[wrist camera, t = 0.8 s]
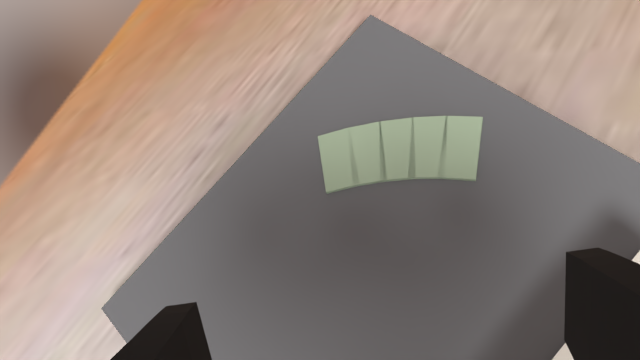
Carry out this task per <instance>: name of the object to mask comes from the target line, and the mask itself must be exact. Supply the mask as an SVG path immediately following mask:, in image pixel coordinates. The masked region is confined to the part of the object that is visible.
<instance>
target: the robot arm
mask: <svg viewBox="0 0 640 360" xmlns="http://www.w3.org/2000/svg"><path fill="white" fill-rule="evenodd" d="M564 340H565V342H566V344H567V347H568V349H569V351H570V353H571V355H572V357H573V359H574V360H640V264H638V263H636V262H634V261H631V260H629V259H627V258H624V257H622V256H620V255H617V254H615V253H612V252H610V251H607V250H604V249H601V248H591V249H584V250H576V251H569V252H566V275H565V324H564ZM111 360H212V358H211V354H210V350H209V347H208V343H207V339H206V336H205V332H204V328H203V324H202V321H201V317H200V313H199V310H198V306H197V302H193V303H185V304H178V305H170V306H166V307H165V308H163V309H162V310H161V311H160V312H159V313H158V314H157V315H156V316H154V317H153V318H152V319H151V320H150V321H149V322H148V323H147V324H146V325H145V326H144V327H143V328H142V329H141V330H140V331H139V332H138V333H137V334H136V335H135V336H134V337H133V338H132V339H131V340H130V341H129V342H128V343H127V344H126V345H125V346H124V347H123V348H122V349H121V350H120V351H119V352H118V353H117V354H116V355H115V356H114V357H113V358H112V359H111Z"/></svg>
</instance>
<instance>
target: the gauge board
mask: <svg viewBox="0 0 640 360" xmlns="http://www.w3.org/2000/svg"><path fill="white" fill-rule="evenodd" d="M591 248H601V249H604V250H607V251H610V252H612V253H615V254H617V255H620V256H622V257H624V258H627V259H629V260H631V261H632V259H633V258H634V257H635V256H636V255H637V253H638V252H639V251H640V163H638V162H636V161H634V160H633V159H631V158H629V157H627V156H625V155H624V154H622V153H620V152H618V151H616V150H615V149H613V148H611V147H609V146H607V145H605V144H604V143H602V142H600V141H598V140H596V139H595V138H593V137H591V136H589V135H587V134H586V133H584V132H582V131H580V130H578V129H576V128H575V127H573V126H571V125H569V124H567V123H566V122H564V121H562V120H560V119H558V118H557V117H555V116H553V115H551V114H549V113H548V112H546V111H544V110H542V109H540V108H538V107H537V106H535V105H533V104H531V103H529V102H528V101H526V100H524V99H522V98H520V97H519V96H517V95H515V94H513V93H511V92H510V91H508V90H506V89H504V88H502V87H500V86H499V85H497V84H495V83H493V82H491V81H490V80H488V79H486V78H484V77H482V76H481V75H479V74H477V73H475V72H473V71H471V70H470V69H468V68H466V67H464V66H462V65H461V64H459V63H457V62H455V61H453V60H452V59H450V58H448V57H446V56H444V55H443V54H441V53H439V52H437V51H435V50H433V49H432V48H430V47H428V46H426V45H424V44H423V43H421V42H419V41H417V40H415V39H414V38H412V37H410V36H408V35H406V34H404V33H403V32H401V31H399V30H397V29H395V28H394V27H392V26H390V25H388V24H386V23H385V22H383V21H381V20H379V19H377V18H376V17H374V16H372V15H370V16H369V17H368V18H367V19H366V20H365V21H364V22H363V24H362V25H361V26H360V27H359V28H358V29H357V30H356V31H355V32H354V33H353V34H352V36H351V37H350V38H349V39H348V40H347V41H346V42H345V43H344V44H343V45H342V46H341V48H340V49H339V50H338V51H337V52H336V53H335V54H334V55H333V56H332V57H331V58H330V60H329V61H328V62H327V63H326V64H325V65H324V66H323V67H322V68H321V69H320V70H319V72H318V73H317V74H316V75H315V76H314V77H313V78H312V79H311V80H310V81H309V82H308V84H307V85H306V86H305V87H304V88H303V89H302V90H301V91H300V92H299V93H298V94H297V96H296V97H295V98H294V99H293V100H292V101H291V102H290V103H289V104H288V105H287V106H286V108H285V109H284V110H283V111H282V112H281V113H280V114H279V115H278V116H277V117H276V118H275V120H274V121H273V122H272V123H271V124H270V125H269V126H268V127H267V128H266V129H265V130H264V132H263V133H262V134H261V135H260V136H259V137H258V138H257V139H256V140H255V141H254V142H253V144H252V145H251V146H250V147H249V148H248V149H247V150H246V151H245V152H244V153H243V154H242V155H241V157H240V158H239V159H238V160H237V161H236V162H235V163H234V164H233V165H232V166H231V167H230V169H229V170H228V171H227V172H226V173H225V174H224V175H223V176H222V177H221V178H220V179H219V181H218V182H217V183H216V184H215V185H214V186H213V187H212V188H211V189H210V190H209V191H208V193H207V194H206V195H205V196H204V197H203V198H202V199H201V200H200V201H199V202H198V203H197V205H196V206H195V207H194V208H193V209H192V210H191V211H190V212H189V213H188V214H187V215H186V217H185V218H184V219H183V220H182V221H181V222H180V223H179V224H178V225H177V226H176V227H175V229H174V230H173V231H172V232H171V233H170V234H169V235H168V236H167V237H166V238H165V239H164V241H163V242H162V243H161V244H160V245H159V246H158V247H157V248H156V249H155V250H154V251H153V253H152V254H151V255H150V256H149V257H148V258H147V259H146V260H145V261H144V262H143V263H142V265H141V266H140V267H139V268H138V269H137V270H136V271H135V272H134V273H133V274H132V275H131V277H130V278H129V279H128V280H127V281H126V282H125V283H124V284H123V285H122V286H121V287H120V289H119V290H118V291H117V292H116V293H115V294H114V295H113V296H112V297H111V298H110V299H109V301H108V302H107V303H106V304H105V305H104V306H103V307H102V308H101V309H102V310H103V311H104V313H105V314H106V315H107V317H108V318H109V319H110V321H111V322H112V324H113V325H114V326H115V328H116V329H117V330H118V332H119V333H120V334H121V336H122V337H123V338H124V340H125V341H126V343H128V342H129V341H130V340H131V339H132V338H133V337H134V336H135V335H136V334H137V333H138V332H139V331H140V330H141V329H142V328H143V327H144V326H145V325H146V324H147V323H148V322H149V321H150V320H151V319H152V318H153V317H154V316H156V315H157V314H158V313H159V312H160V311H161V310H162V309H163V308H165V307H166V306H170V305H178V304H185V303H193V302H197V306H198V310H199V313H200V317H201V321H202V324H203V328H204V332H205V336H206V339H207V343H208V347H209V350H210V354H211V358H212V360H552V359H553V358H554V356H555V355H556V354H557V353H558V351H559V350H560V349H561V348H562V346H563V345H564V344H565V343H566V342H565V340H564V324H565V275H566V252H569V251H576V250H584V249H591Z"/></svg>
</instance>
